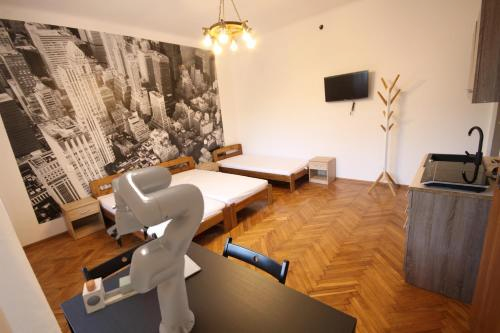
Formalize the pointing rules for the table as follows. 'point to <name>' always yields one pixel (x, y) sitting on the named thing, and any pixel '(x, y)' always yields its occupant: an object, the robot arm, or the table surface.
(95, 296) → the cabinet
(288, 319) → the table surface
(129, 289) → the carriage
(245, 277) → the table surface
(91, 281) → the knob
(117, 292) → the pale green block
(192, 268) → the plate
